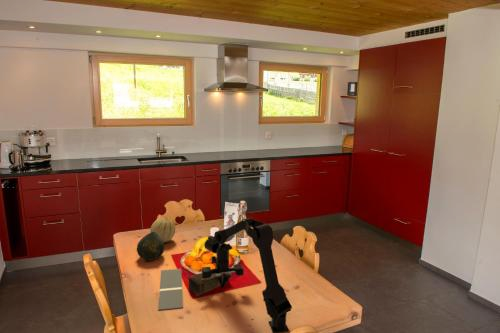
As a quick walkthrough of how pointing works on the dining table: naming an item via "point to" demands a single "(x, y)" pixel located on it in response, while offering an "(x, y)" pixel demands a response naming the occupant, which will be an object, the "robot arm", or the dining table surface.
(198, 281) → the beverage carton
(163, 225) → the cantaloupe
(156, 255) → the squash
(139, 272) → the dining table surface
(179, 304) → the strip
